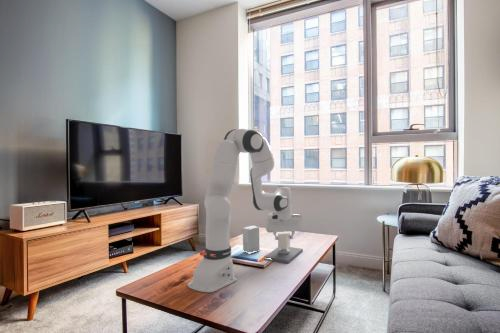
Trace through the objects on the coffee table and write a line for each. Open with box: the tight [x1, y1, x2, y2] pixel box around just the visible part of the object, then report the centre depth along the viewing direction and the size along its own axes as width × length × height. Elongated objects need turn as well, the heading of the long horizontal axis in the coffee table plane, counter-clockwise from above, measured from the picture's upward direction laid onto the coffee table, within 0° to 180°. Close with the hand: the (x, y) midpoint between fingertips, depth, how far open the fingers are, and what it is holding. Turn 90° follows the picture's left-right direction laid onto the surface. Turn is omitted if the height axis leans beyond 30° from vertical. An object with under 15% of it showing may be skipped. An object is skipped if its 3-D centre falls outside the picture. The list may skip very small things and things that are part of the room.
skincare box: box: [242, 225, 260, 252], centre depth 169 cm, size 8×6×15 cm
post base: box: [263, 246, 304, 264], centre depth 163 cm, size 22×14×10 cm, turn 150°
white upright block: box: [277, 232, 291, 249], centre depth 163 cm, size 5×5×8 cm
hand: (284, 239), depth 163 cm, fingers closed on white upright block, 7 cm apart
